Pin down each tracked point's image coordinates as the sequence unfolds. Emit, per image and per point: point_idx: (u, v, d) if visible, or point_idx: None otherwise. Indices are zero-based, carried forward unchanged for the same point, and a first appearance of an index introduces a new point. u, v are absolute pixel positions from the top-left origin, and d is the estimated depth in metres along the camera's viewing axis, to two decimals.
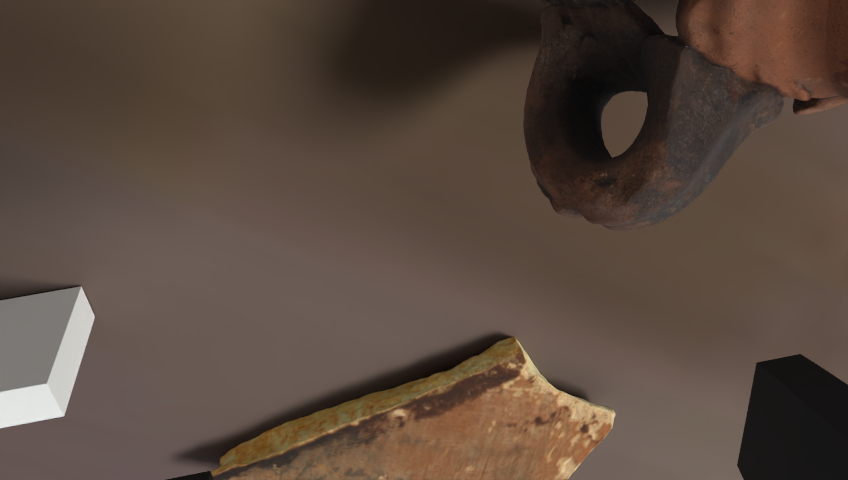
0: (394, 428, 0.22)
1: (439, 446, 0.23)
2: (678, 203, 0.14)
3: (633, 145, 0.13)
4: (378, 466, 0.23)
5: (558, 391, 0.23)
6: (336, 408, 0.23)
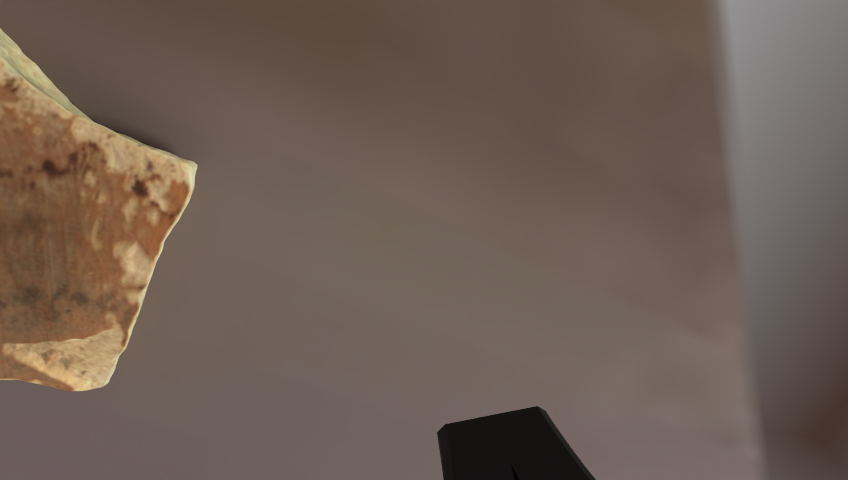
0: None
1: None
2: None
3: None
4: None
5: (71, 114, 0.14)
6: None
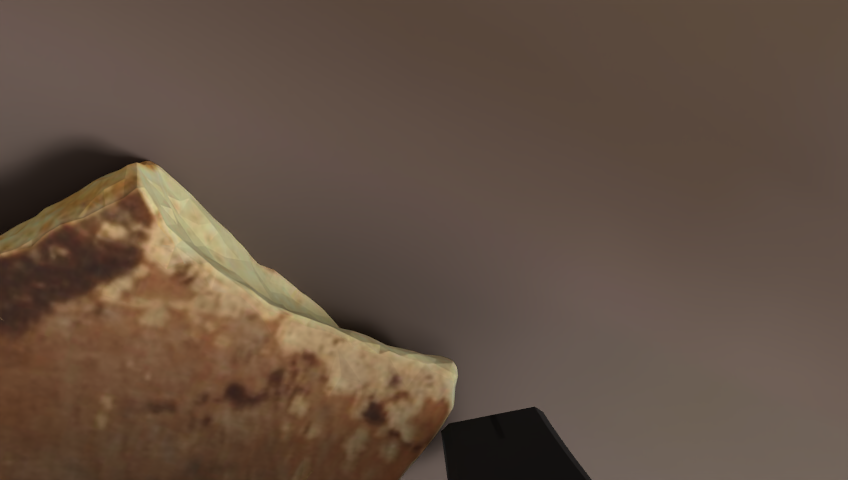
0: None
1: None
2: None
3: None
4: None
5: (278, 310, 0.08)
6: None
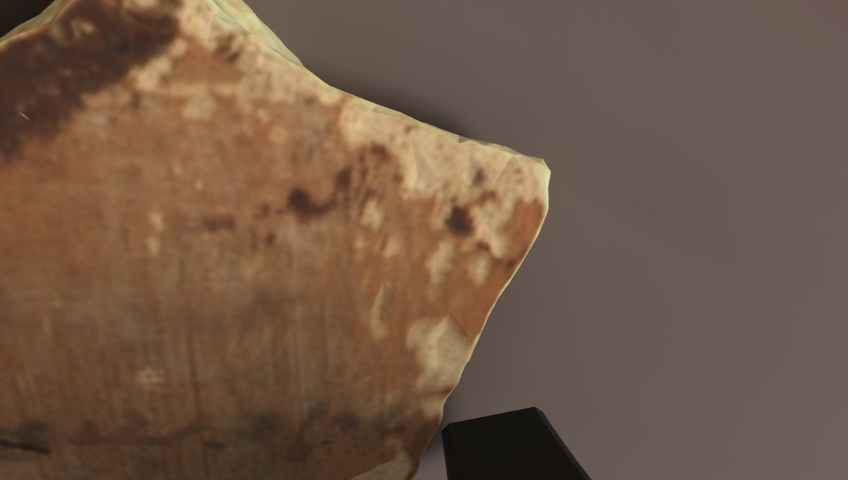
0: None
1: (15, 314, 0.08)
2: None
3: None
4: None
5: (339, 93, 0.07)
6: None
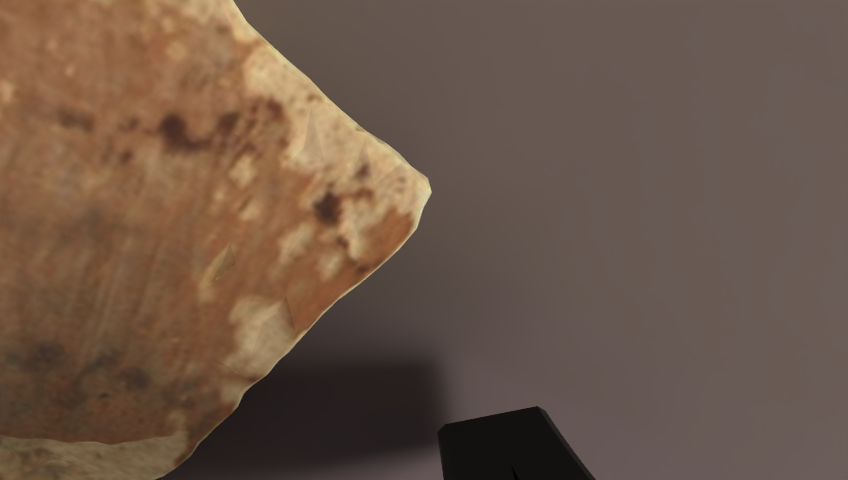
0: None
1: None
2: None
3: None
4: None
5: (255, 34, 0.07)
6: None
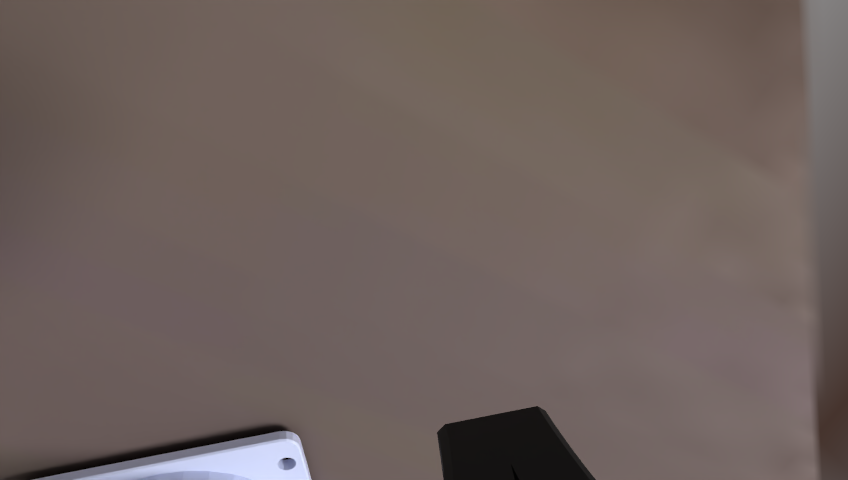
0: None
1: None
2: None
3: None
4: None
5: None
6: None
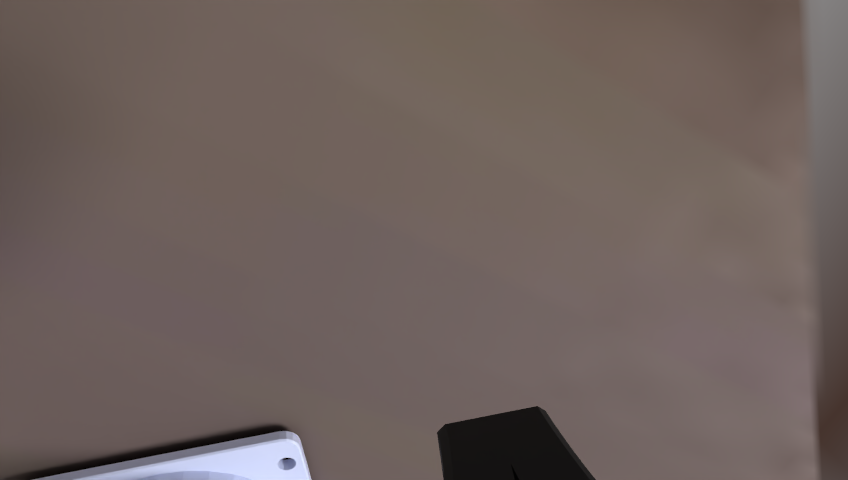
0: None
1: None
2: None
3: None
4: None
5: None
6: None
